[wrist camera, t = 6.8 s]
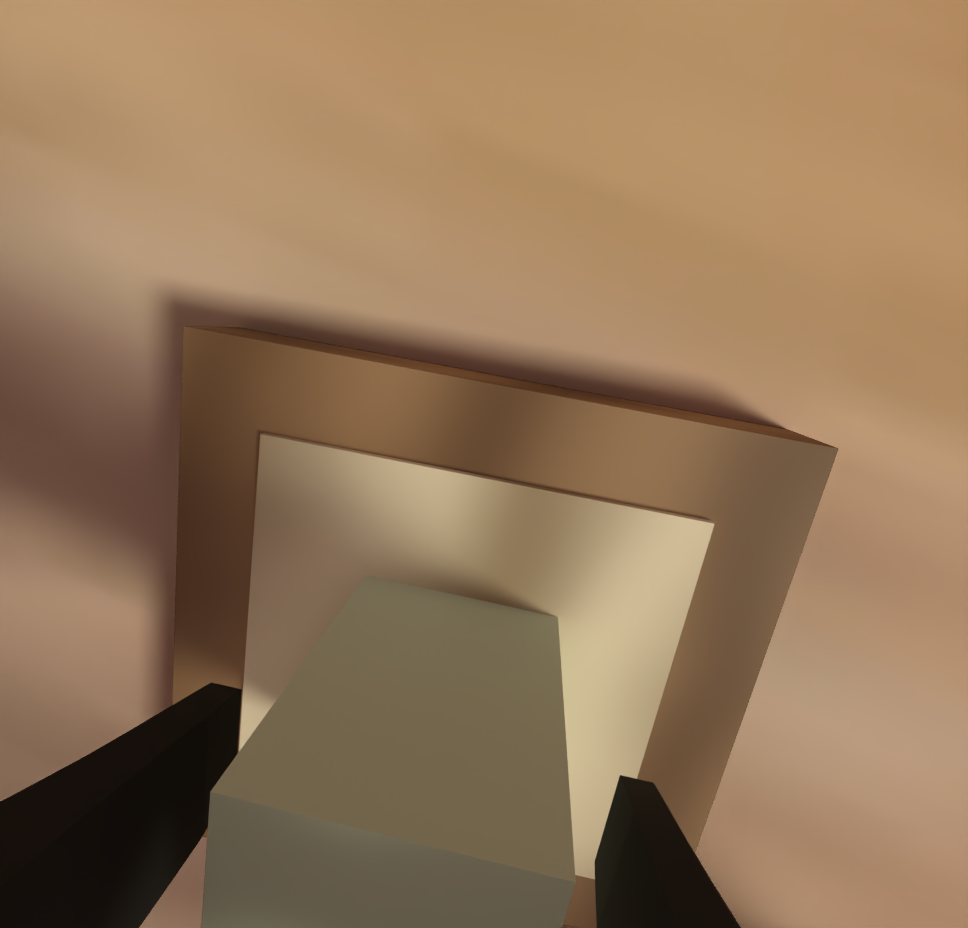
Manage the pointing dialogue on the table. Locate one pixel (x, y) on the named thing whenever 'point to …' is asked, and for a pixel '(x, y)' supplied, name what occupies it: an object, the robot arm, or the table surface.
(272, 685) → the plinth
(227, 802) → the sage block
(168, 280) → the table surface
